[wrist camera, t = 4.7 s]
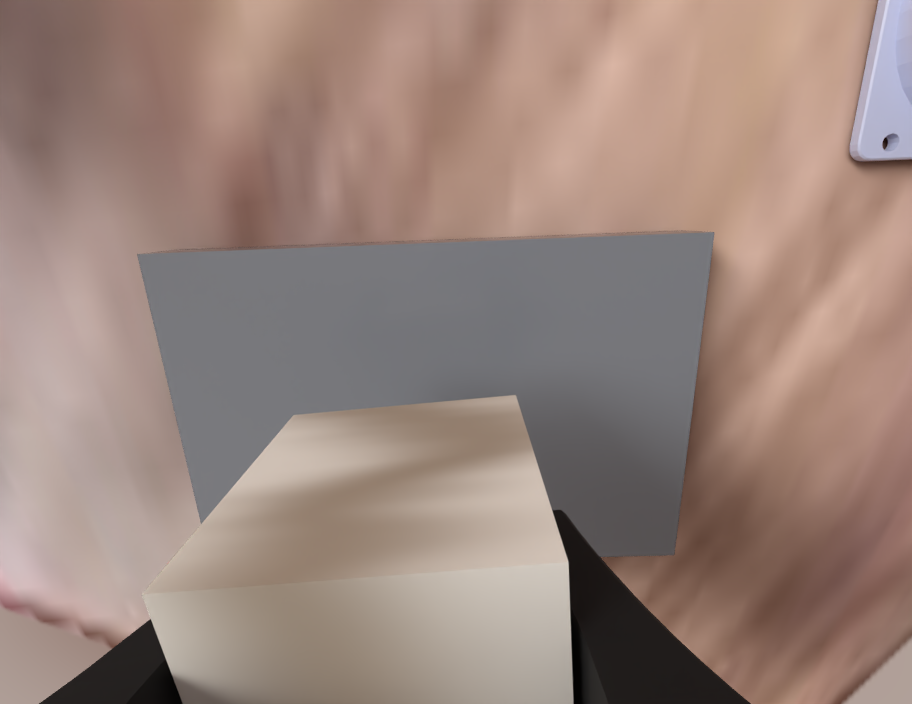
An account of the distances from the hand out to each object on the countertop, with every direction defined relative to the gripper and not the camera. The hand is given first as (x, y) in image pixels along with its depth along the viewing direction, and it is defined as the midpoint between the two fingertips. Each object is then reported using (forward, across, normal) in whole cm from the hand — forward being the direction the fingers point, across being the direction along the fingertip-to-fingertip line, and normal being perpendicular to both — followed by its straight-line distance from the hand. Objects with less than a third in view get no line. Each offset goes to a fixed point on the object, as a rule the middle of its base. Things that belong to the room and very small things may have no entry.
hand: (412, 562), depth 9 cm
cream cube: (+2, 0, 0) cm, 2 cm away
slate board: (+9, 0, 0) cm, 9 cm away
